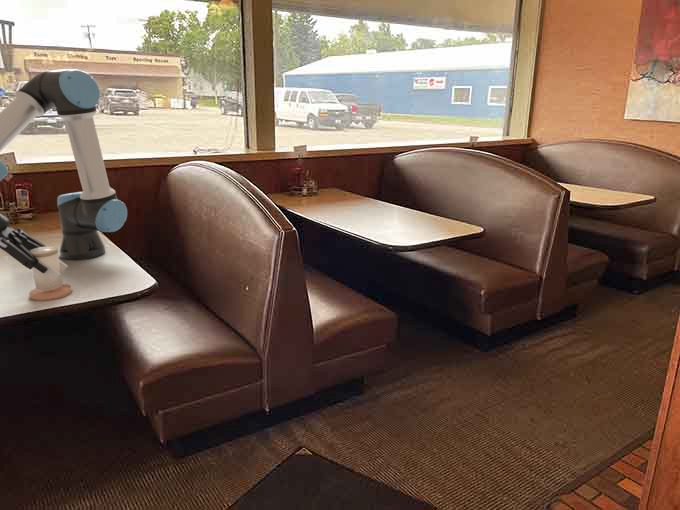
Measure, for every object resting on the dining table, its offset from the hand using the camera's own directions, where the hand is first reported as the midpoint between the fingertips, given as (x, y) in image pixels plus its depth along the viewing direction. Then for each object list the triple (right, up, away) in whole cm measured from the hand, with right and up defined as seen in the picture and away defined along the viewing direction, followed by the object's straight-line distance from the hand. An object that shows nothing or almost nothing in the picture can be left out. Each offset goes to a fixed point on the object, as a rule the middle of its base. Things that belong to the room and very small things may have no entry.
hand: (60, 273), depth 153 cm
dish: (-3, -6, +1) cm, 7 cm away
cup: (-4, -4, 0) cm, 5 cm away
